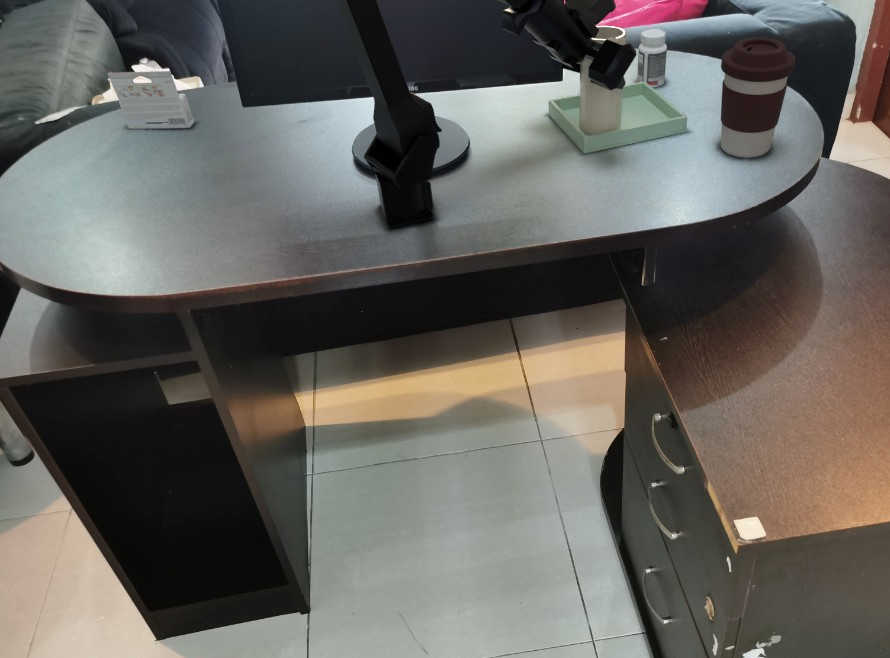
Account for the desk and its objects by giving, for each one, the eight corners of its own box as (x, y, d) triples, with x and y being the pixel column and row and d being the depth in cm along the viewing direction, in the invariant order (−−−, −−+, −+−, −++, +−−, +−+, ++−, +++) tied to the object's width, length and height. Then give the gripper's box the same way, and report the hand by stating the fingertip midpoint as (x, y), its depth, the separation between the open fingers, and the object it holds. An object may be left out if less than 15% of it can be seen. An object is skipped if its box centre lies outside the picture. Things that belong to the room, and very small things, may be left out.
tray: (584, 153, 126) (584, 138, 124) (548, 114, 136) (548, 100, 135) (686, 132, 129) (687, 116, 127) (643, 95, 140) (644, 81, 138)
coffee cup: (793, 152, 122) (813, 49, 112) (738, 169, 120) (754, 65, 109) (750, 127, 129) (765, 27, 119) (698, 143, 126) (708, 42, 116)
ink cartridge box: (134, 123, 143) (112, 66, 136) (195, 122, 142) (176, 65, 135) (128, 130, 141) (105, 72, 134) (190, 129, 140) (171, 71, 133)
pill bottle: (669, 80, 144) (672, 30, 138) (657, 90, 141) (660, 39, 136) (644, 75, 146) (647, 26, 140) (632, 85, 143) (634, 35, 138)
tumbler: (605, 139, 125) (609, 42, 116) (571, 129, 128) (572, 35, 119) (628, 124, 129) (634, 30, 120) (594, 116, 132) (597, 23, 123)
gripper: (629, -19, 105) (683, 47, 117) (539, -48, 117) (596, 15, 129) (581, 60, 108) (639, 117, 120) (497, 24, 119) (557, 80, 131)
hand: (607, 79), depth 125 cm, fingers closed on tumbler, 6 cm apart
